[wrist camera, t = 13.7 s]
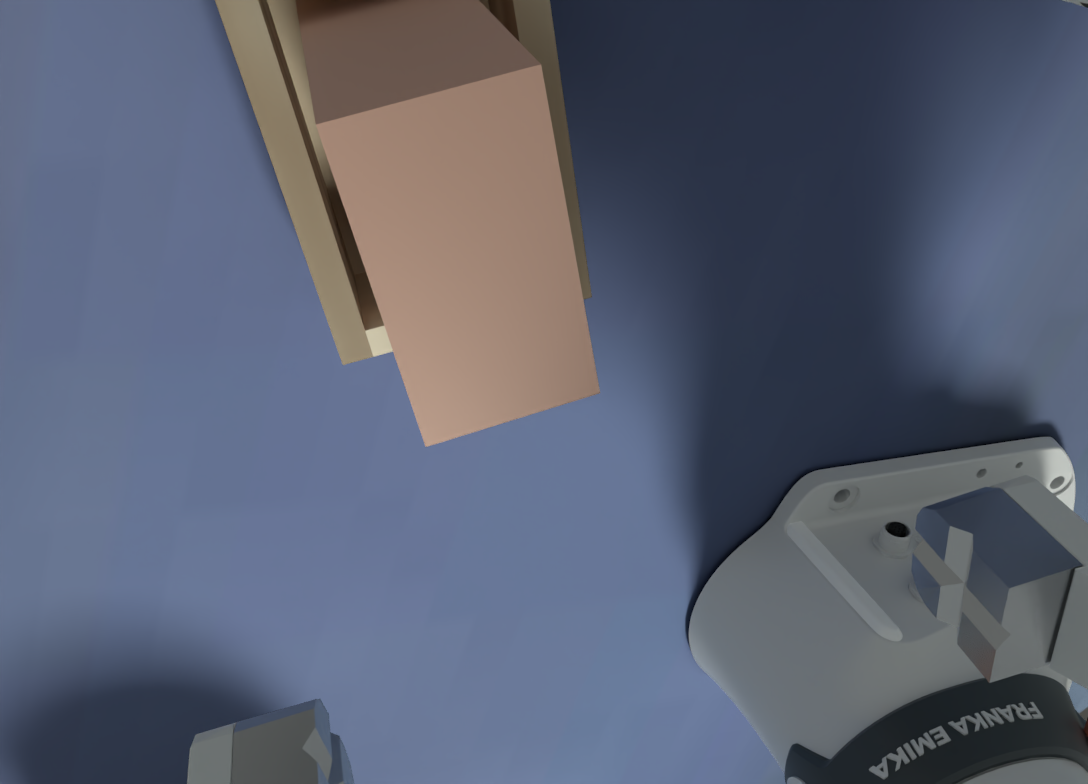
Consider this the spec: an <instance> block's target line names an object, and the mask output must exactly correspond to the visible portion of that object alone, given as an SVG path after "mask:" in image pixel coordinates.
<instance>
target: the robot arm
mask: <svg viewBox="0 0 1088 784" xmlns="http://www.w3.org/2000/svg"><path fill="white" fill-rule="evenodd" d="M1074 502H1075V475H1074V470H1073V466H1072V463H1071V461H1070V458H1069V457H1068V455H1067V453H1066V452H1065V451H1064V449H1063V448H1062V447H1061V446H1060V445H1059V444H1058V443H1057V442H1056V441H1055V440H1054V439H1053V438H1052V437H1037V438H1030V439H1023V440H1016V441H1009V442H1002V443H996V444H989V445H982V446H976V447H969V448H962V449H955V450H949V451H942V452H935V453H928V454H922V455H915V456H908V457H901V458H895V459H888V460H881V461H874V462H868V463H861V464H854V465H848V466H841V467H834V468H827V469H821V470H816V471H813V472H811V473H809V474H807V475H805V476H804V477H802V478H801V479H800V480H799V481H798V482H797V483H796V484H795V485H794V486H793V487H792V488H791V490H790V491H789V492H788V494H787V495H786V496H785V498H784V499H783V501H782V502H781V504H780V505H779V507H778V508H777V510H776V511H775V513H774V514H773V516H772V518H771V519H770V520H769V521H768V522H767V523H766V524H765V525H764V526H763V527H762V528H761V529H760V530H759V531H757V532H756V533H755V534H754V535H753V536H751V537H750V538H749V539H748V540H746V541H745V542H744V543H743V544H742V545H741V546H739V547H738V548H737V549H736V550H735V551H734V552H733V553H732V554H731V555H730V556H729V557H728V558H727V559H726V560H725V561H724V562H723V563H722V564H721V565H720V566H719V567H718V569H717V570H716V571H715V572H714V574H713V575H712V576H711V578H710V579H709V581H708V582H707V583H706V585H705V587H704V588H703V590H702V592H701V593H700V595H699V597H698V599H697V602H696V604H695V606H694V609H693V612H692V615H691V619H690V625H689V644H690V649H691V652H692V655H693V657H694V659H695V661H696V662H697V664H698V665H699V666H700V668H701V669H702V670H703V671H704V672H705V673H706V674H707V675H709V676H710V677H711V678H712V679H713V680H714V681H715V682H716V683H717V684H718V686H719V687H720V688H721V689H722V690H723V691H724V692H725V693H726V694H727V695H728V697H729V698H730V699H731V700H732V701H733V703H734V704H735V705H736V706H737V707H738V709H739V710H740V711H741V713H742V714H743V715H744V716H745V718H746V719H747V720H748V722H749V723H750V724H751V726H752V727H753V728H754V730H755V731H756V733H757V734H758V735H759V737H760V738H761V740H762V741H763V743H764V744H765V745H766V747H767V748H768V750H769V751H770V753H771V754H772V756H773V757H774V759H775V760H776V762H777V763H778V765H779V766H780V768H781V769H782V771H783V773H784V774H785V782H786V784H1088V719H1087V721H1085V720H1084V719H1083V718H1082V717H1081V716H1080V715H1079V713H1078V712H1077V711H1076V710H1075V709H1074V706H1073V704H1072V701H1071V699H1070V696H1069V694H1068V692H1069V689H1070V686H1071V683H1072V681H1074V682H1076V683H1077V684H1079V685H1081V686H1083V687H1085V688H1087V689H1088V524H1087V523H1086V522H1085V521H1084V520H1083V519H1082V518H1080V517H1079V516H1078V515H1077V514H1076V513H1075V512H1074V511H1073V510H1074ZM187 784H354V780H353V775H352V770H351V765H350V762H349V759H348V756H347V753H346V750H345V747H344V745H343V743H342V741H341V738H340V736H338V735H336V734H333V733H331V732H330V723H329V714H328V712H327V710H326V708H325V706H324V705H323V703H322V701H321V699H315V700H311V701H308V702H304V703H301V704H297V705H294V706H291V707H287V708H284V709H280V710H277V711H273V712H270V713H266V714H263V715H259V716H256V717H252V718H249V719H245V720H242V721H238V722H235V723H232V724H229V725H225V726H222V727H219V728H215V729H212V730H209V731H205V732H202V733H199V734H196V735H195V737H194V740H193V742H192V745H191V747H190V754H189V766H188V778H187Z"/></svg>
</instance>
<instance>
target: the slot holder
mask: <svg viewBox="0 0 1088 784" xmlns="http://www.w3.org/2000/svg"><path fill="white" fill-rule="evenodd" d="M479 1H480V2H481V3H482V4H483V5H484V6H485V7H486V8H487V9H488V10H489V11H490V12H491V13H492V14H493V15H494V16H495V17H496V18H497V19H498V21H499V22H500V23H501V24H502V25H503V26H504V27H505V28H506V29H507V30H508V31H509V32H510V33H511V34H512V35H513V36H514V37H515V38H516V39H517V40H518V41H519V42H520V43H521V44H522V45H523V46H524V47H525V48H526V49H527V50H528V51H529V52H530V53H531V54H532V55H533V56H534V57H535V58H536V59H537V61H538V62H539V63H540V64H541V66H542V72H543V78H544V83H545V89H546V94H547V100H548V105H549V111H550V117H551V122H552V128H553V133H554V139H555V144H556V150H557V156H558V161H559V167H560V172H561V178H562V183H563V189H564V195H565V200H566V206H567V211H568V217H569V222H570V228H571V234H572V239H573V245H574V250H575V256H576V261H577V267H578V273H579V278H580V284H581V289H582V295H583V299H587V298H591V297H592V295H591V288H590V281H589V274H588V267H587V260H586V252H585V245H584V238H583V231H582V224H581V217H580V210H579V203H578V196H577V189H576V182H575V175H574V168H573V161H572V154H571V146H570V139H569V132H568V125H567V118H566V111H565V104H564V97H563V90H562V83H561V76H560V69H559V62H558V55H557V48H556V41H555V33H554V26H553V19H552V12H551V5H550V0H479ZM215 2H216V5H217V7H218V10H219V13H220V16H221V19H222V22H223V25H224V27H225V30H226V33H227V36H228V39H229V42H230V44H231V47H232V50H233V53H234V56H235V59H236V62H237V64H238V67H239V70H240V73H241V76H242V79H243V82H244V84H245V87H246V90H247V93H248V96H249V99H250V101H251V104H252V107H253V110H254V113H255V116H256V119H257V121H258V124H259V127H260V130H261V133H262V136H263V139H264V141H265V144H266V147H267V150H268V153H269V156H270V159H271V161H272V164H273V167H274V170H275V173H276V176H277V178H278V181H279V184H280V187H281V190H282V193H283V196H284V198H285V201H286V204H287V207H288V210H289V213H290V216H291V218H292V221H293V224H294V227H295V230H296V233H297V235H298V238H299V241H300V244H301V247H302V250H303V253H304V255H305V258H306V261H307V264H308V267H309V270H310V273H311V275H312V278H313V281H314V284H315V287H316V290H317V293H318V295H319V298H320V301H321V304H322V307H323V310H324V312H325V315H326V318H327V321H328V324H329V327H330V330H331V332H332V335H333V338H334V341H335V344H336V347H337V350H338V352H339V355H340V358H341V361H342V364H343V365H345V364H348V363H352V362H356V361H359V360H363V359H367V358H370V357H374V356H378V355H381V354H385V353H389V352H392V351H393V349H392V346H391V344H390V341H389V338H388V335H387V332H386V329H385V326H384V323H383V320H382V317H381V314H380V311H379V308H378V305H377V303H376V300H375V297H374V294H373V291H372V288H371V285H370V282H369V279H368V276H367V273H366V270H365V267H364V264H363V262H362V259H361V256H360V253H359V250H358V247H357V244H356V241H355V238H354V235H353V232H352V229H351V226H350V223H349V221H348V218H347V215H346V212H345V209H344V206H343V203H342V200H341V197H340V194H339V191H338V188H337V185H336V182H335V180H334V177H333V174H332V171H331V168H330V165H329V162H328V159H327V156H326V153H325V150H324V147H323V144H322V141H321V139H320V136H319V133H318V130H317V127H316V123H315V117H314V111H313V105H312V99H311V93H310V87H309V80H308V74H307V68H306V62H305V56H304V50H303V44H302V38H301V32H300V26H299V20H298V13H297V7H296V1H295V0H215Z"/></svg>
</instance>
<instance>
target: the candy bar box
mask: <svg viewBox="0 0 1088 784" xmlns="http://www.w3.org/2000/svg"><path fill="white" fill-rule="evenodd" d="M1062 1H1067V2H1071V3H1074V4H1077V5H1081V6H1084V7H1087V8H1088V0H1062Z"/></svg>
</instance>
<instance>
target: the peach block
mask: <svg viewBox="0 0 1088 784" xmlns="http://www.w3.org/2000/svg"><path fill="white" fill-rule="evenodd" d="M295 1H296V7H297V13H298V20H299V26H300V32H301V38H302V44H303V50H304V56H305V62H306V68H307V74H308V80H309V87H310V93H311V99H312V105H313V111H314V117H315V123H316V127H317V130H318V133H319V136H320V139H321V141H322V144H323V147H324V150H325V153H326V156H327V159H328V162H329V165H330V168H331V171H332V174H333V177H334V180H335V182H336V185H337V188H338V191H339V194H340V197H341V200H342V203H343V206H344V209H345V212H346V215H347V218H348V221H349V223H350V226H351V229H352V232H353V235H354V238H355V241H356V244H357V247H358V250H359V253H360V256H361V259H362V262H363V264H364V267H365V270H366V273H367V276H368V279H369V282H370V285H371V288H372V291H373V294H374V297H375V300H376V303H377V305H378V308H379V311H380V314H381V317H382V320H383V323H384V326H385V329H386V332H387V335H388V338H389V341H390V344H391V346H392V349H393V352H394V355H395V358H396V361H397V364H398V367H399V370H400V373H401V376H402V379H403V382H404V385H405V388H406V390H407V393H408V396H409V399H410V402H411V405H412V408H413V411H414V414H415V417H416V420H417V423H418V426H419V429H420V431H421V434H422V437H423V440H424V443H425V446H426V447H427V446H431V445H434V444H437V443H440V442H443V441H447V440H450V439H453V438H456V437H460V436H463V435H466V434H469V433H473V432H476V431H479V430H482V429H486V428H489V427H492V426H495V425H498V424H502V423H505V422H508V421H511V420H515V419H518V418H521V417H524V416H528V415H531V414H534V413H537V412H540V411H544V410H547V409H550V408H553V407H557V406H560V405H563V404H566V403H570V402H573V401H576V400H579V399H583V398H586V397H589V396H592V395H595V394H599V393H600V390H599V384H598V378H597V373H596V367H595V362H594V356H593V351H592V345H591V339H590V334H589V328H588V323H587V317H586V312H585V306H584V300H583V295H582V289H581V284H580V278H579V273H578V267H577V261H576V256H575V250H574V245H573V239H572V234H571V228H570V222H569V217H568V211H567V206H566V200H565V195H564V189H563V183H562V178H561V172H560V167H559V161H558V156H557V150H556V144H555V139H554V133H553V128H552V122H551V117H550V111H549V105H548V100H547V94H546V89H545V83H544V78H543V72H542V66H541V64H540V63H539V62H538V61H537V59H536V58H535V57H534V56H533V55H532V54H531V53H530V52H529V51H528V50H527V49H526V48H525V47H524V46H523V45H522V44H521V43H520V42H519V41H518V40H517V39H516V38H515V37H514V36H513V35H512V34H511V33H510V32H509V31H508V30H507V29H506V28H505V27H504V26H503V25H502V24H501V23H500V22H499V21H498V19H497V18H496V17H495V16H494V15H493V14H492V13H491V12H490V11H489V10H488V9H487V8H486V7H485V6H484V5H483V4H482V3H481V2H480V1H479V0H295Z"/></svg>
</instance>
